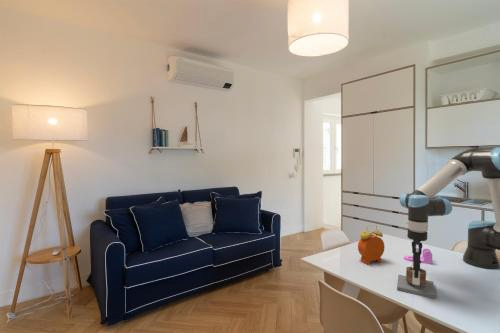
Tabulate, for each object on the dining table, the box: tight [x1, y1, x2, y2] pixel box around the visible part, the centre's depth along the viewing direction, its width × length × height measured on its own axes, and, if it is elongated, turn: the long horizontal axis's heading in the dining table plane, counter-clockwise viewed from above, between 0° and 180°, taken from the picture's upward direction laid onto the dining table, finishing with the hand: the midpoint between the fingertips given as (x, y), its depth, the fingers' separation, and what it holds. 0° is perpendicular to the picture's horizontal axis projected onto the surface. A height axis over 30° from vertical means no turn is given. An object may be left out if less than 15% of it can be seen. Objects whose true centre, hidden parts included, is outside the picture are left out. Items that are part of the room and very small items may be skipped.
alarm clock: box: [357, 224, 385, 265], centre depth 152 cm, size 13×6×20 cm, turn 108°
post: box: [396, 264, 437, 300], centre depth 122 cm, size 14×14×10 cm
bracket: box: [403, 247, 433, 265], centre depth 153 cm, size 13×6×7 cm, turn 66°
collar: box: [405, 266, 427, 285], centre depth 122 cm, size 7×7×5 cm
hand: (415, 280), depth 123 cm, fingers closed on collar, 7 cm apart
